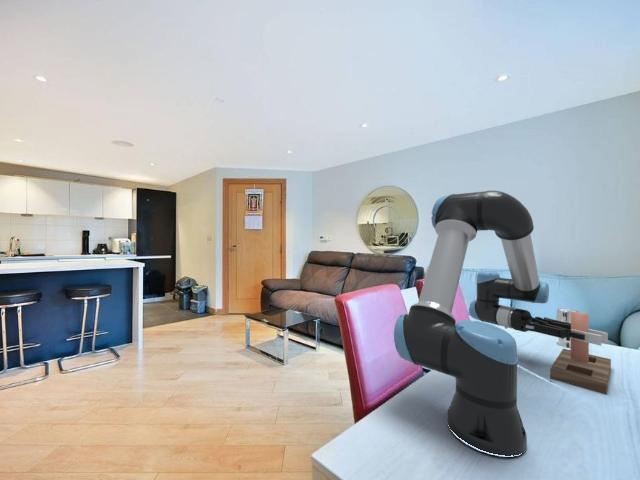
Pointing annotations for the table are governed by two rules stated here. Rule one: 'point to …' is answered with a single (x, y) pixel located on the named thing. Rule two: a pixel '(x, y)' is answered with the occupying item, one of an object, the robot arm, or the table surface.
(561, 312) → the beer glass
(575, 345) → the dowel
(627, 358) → the table surface
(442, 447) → the table surface
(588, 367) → the hole board
